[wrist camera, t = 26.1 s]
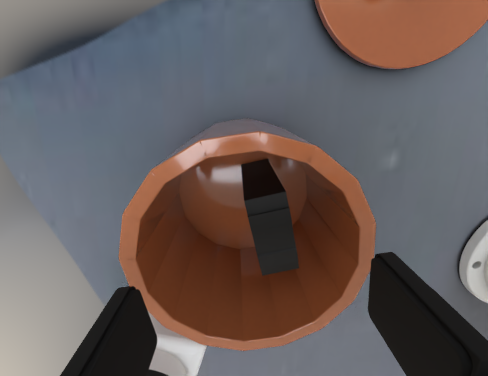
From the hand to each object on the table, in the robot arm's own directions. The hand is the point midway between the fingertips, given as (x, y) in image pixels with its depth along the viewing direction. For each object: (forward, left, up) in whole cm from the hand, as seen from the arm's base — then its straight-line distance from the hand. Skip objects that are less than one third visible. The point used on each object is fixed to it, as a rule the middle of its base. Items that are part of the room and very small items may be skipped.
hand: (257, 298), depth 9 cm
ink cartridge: (-1, -1, -11) cm, 11 cm away
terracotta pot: (0, 0, -12) cm, 12 cm away
